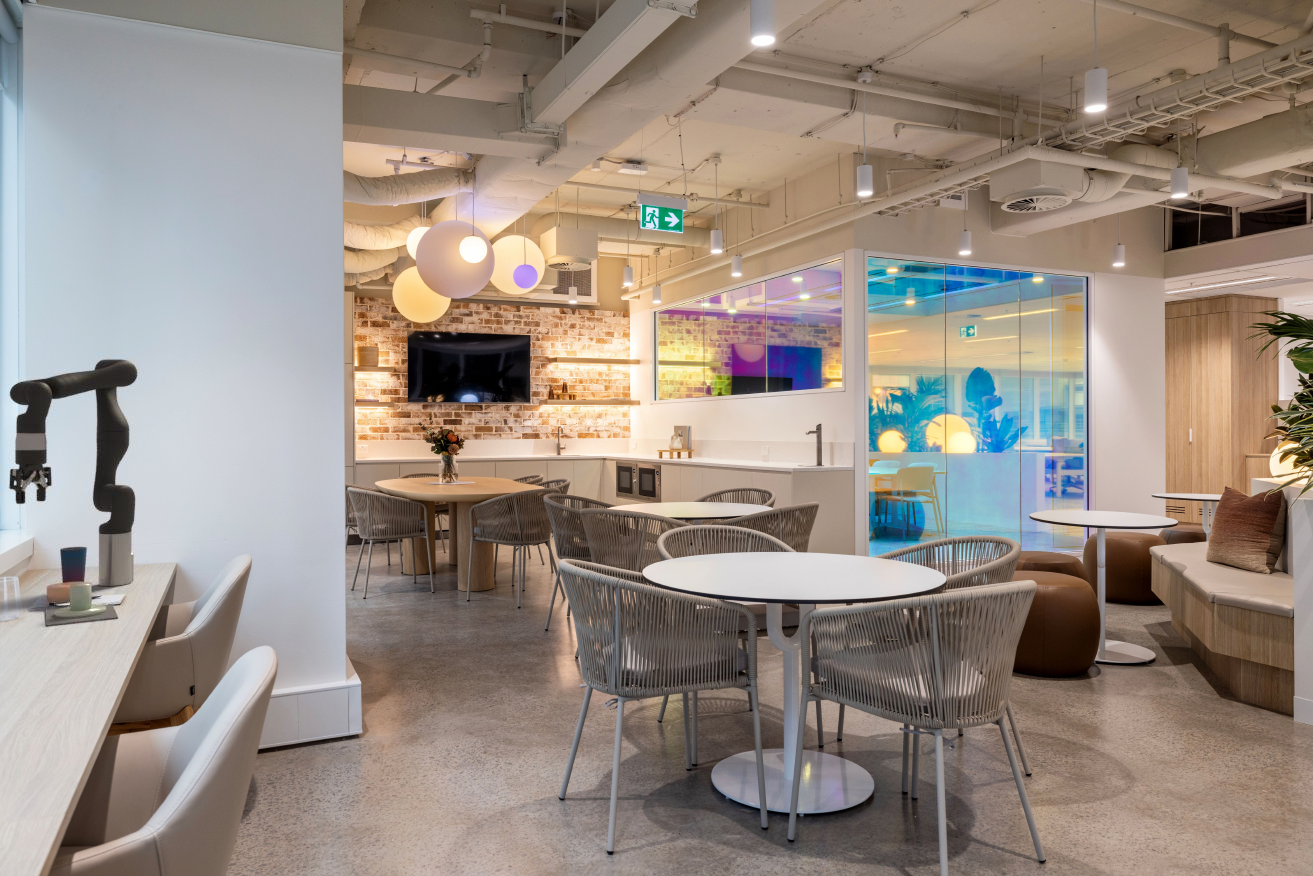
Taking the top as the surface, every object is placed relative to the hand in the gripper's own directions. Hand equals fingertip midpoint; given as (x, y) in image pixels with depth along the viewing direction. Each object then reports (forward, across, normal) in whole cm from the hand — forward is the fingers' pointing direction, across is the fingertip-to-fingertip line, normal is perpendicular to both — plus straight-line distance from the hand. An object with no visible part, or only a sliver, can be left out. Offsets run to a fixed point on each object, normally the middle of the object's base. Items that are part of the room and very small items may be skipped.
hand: (31, 502), depth 249 cm
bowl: (+30, -1, -12) cm, 32 cm away
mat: (+30, -16, -25) cm, 42 cm away
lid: (+30, -16, -24) cm, 42 cm away
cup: (+30, +9, -7) cm, 32 cm away
